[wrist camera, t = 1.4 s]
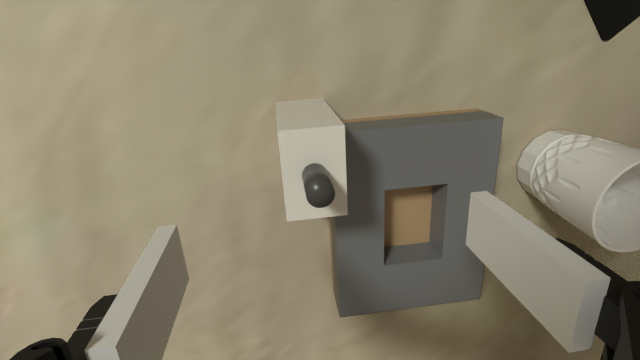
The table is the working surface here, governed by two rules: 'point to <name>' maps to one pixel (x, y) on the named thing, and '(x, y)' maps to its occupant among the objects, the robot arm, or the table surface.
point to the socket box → (411, 209)
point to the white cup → (587, 185)
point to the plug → (312, 159)
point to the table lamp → (612, 15)
